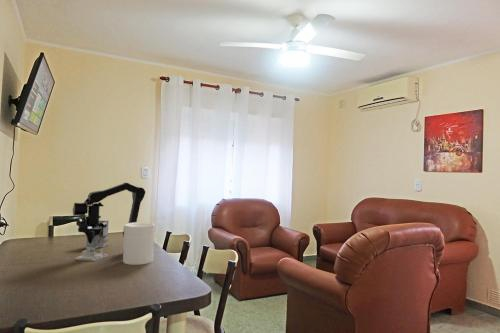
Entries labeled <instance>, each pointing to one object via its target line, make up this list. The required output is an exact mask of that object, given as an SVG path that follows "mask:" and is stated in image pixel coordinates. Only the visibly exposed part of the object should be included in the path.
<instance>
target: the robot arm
mask: <svg viewBox="0 0 500 333" xmlns="http://www.w3.org/2000/svg"><path fill="white" fill-rule="evenodd" d="M123 191H128V192H130V193H131V194H132V195H131V196H132V205H131V210H130V213H129V219H128V223H133V222H138V216H139V212H140V209H141V208H140V207H141V203H142V201H143V199H144V198H145V195H146V190H145V189H144V188H143V187H141V186H136V185H133V184H130V182H123V183H121V184H117V185H114V186H113V187H110V188H107V189H104V190H102V189H101V190H97V191H92V192H90V193H89V194H88V195H87V198H86V199H85V200H84V202H79V203H78V202H74V203H73V208H72V215H73V216H85V215H86V214H87V216H86V217H85V219H83V220H82V218H80V219H77V220H76V226H78V228H77V232H78V233H84V234H85V235H86V240H87V239H88V242H89V243H91V242H92V239H93V236H94V235H100V233H101V232H102V230H103V228H105V227H107V223H106V222H99V220H100V219H101V217H102V216H101V215H100V207H104V204H102V202H101V201H103V200H105V199H106V198H108V197H109V196H113V195H115V194H119V193H121V192H123ZM101 227H103V228H101ZM122 235H123V236H122V237H123V238H124V230H123V231H122Z"/></svg>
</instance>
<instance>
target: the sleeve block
mask: <svg viewBox="0 0 500 333" xmlns="http://www.w3.org/2000/svg"><path fill="white" fill-rule="evenodd" d="M108 256H109V254H108V253H103V249H100V248H95V249H85V250H82V251H81V255H79V256H77V257H75V258H74V261H75V260H76V261H88V262H98V261H100V260H101V259H104V258H106V257H108Z"/></svg>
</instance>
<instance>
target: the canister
mask: <svg viewBox="0 0 500 333" xmlns="http://www.w3.org/2000/svg"><path fill="white" fill-rule="evenodd" d="M155 225H156V224H155V223H153V222H146V221H144V222H143V221H140V222H139V221H137V222H133V223H129V222H128V223H124V227H123V231H124V237H123V250H122V253H123V254H122V262H123V263H124V264H126V265H133V266H134V265H136V266H137V265H146V264H150V263H152V262H154V252H155V251H154V250H155V247H154V246H155V245H154V244H155Z"/></svg>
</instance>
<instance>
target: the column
mask: <svg viewBox="0 0 500 333" xmlns="http://www.w3.org/2000/svg"><path fill="white" fill-rule="evenodd" d="M98 241H99V235H94V236H93V239H92V242H91V243H89V242H88V239H87V238H86V244H85V245H86V247H85V249H86V250H88V249H99V247H98Z"/></svg>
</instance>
